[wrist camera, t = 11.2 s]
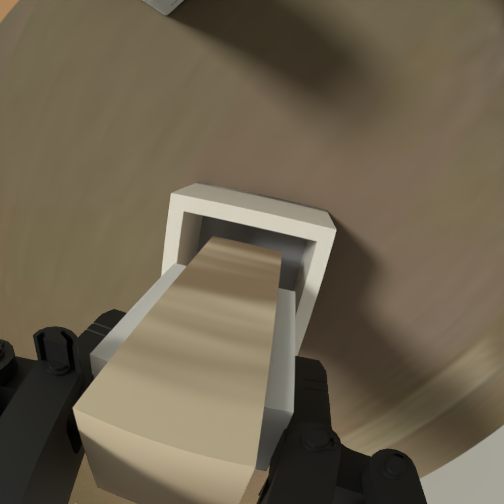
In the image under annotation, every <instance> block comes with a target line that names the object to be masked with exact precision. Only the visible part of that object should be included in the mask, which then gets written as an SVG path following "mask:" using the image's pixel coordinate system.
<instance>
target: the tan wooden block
mask: <svg viewBox="0 0 504 504" xmlns="http://www.w3.org/2000/svg"><path fill="white" fill-rule="evenodd" d="M281 258H282V251H277V250H273V249H269V248H264V247H260V246H256V245H251V244H247V243H243V242H238V241H234V240H229V239H225V238H221V237H216V236H212V238H211V239H210V240H209V241H208V242H207V243H206V245H205V246H204V247H203V248H202V249H201V250H200V251H199V253H198V254H197V255H196V256H195V257H194V258H193V260H192V261H191V262H190V263H189V264H188V265H187V267H186V268H185V269H184V270H183V271H182V272H181V274H180V275H179V276H178V277H177V278H176V280H175V281H174V282H173V283H172V284H171V285H170V287H169V288H168V289H167V290H166V291H165V293H164V294H163V295H162V296H161V297H160V299H159V300H158V301H157V302H156V303H155V305H154V306H153V307H152V308H151V309H150V311H149V312H148V313H147V314H146V315H145V317H144V318H143V319H142V320H141V322H140V323H139V324H138V325H137V326H136V328H135V329H134V330H133V331H132V333H131V334H130V335H129V336H128V338H127V339H126V340H125V341H124V343H123V344H122V345H121V346H120V348H119V349H118V350H117V351H116V353H115V354H114V355H113V356H112V358H111V359H110V360H109V361H108V363H107V364H106V365H105V366H104V368H103V369H102V370H101V372H100V373H99V374H98V375H97V377H96V378H95V379H94V380H93V382H92V383H91V384H90V386H89V387H88V388H87V390H86V391H85V392H84V393H83V395H82V396H81V397H80V399H79V400H78V401H77V403H76V404H75V405H74V406H73V411H74V415H75V419H76V423H77V426H78V430H79V433H80V437H81V440H82V443H83V447H84V450H85V453H86V456H87V459H88V462H89V465H90V468H91V471H92V474H93V476H94V479H95V482H96V484H97V487H99V488H101V489H103V490H105V491H108V492H110V493H112V494H115V495H117V496H120V497H122V498H125V499H127V500H130V501H133V502H135V503H138V504H239V502H240V500H241V498H242V496H243V494H244V491H245V489H246V487H247V485H248V483H249V480H250V478H251V476H252V474H253V471H254V469H255V466H256V460H257V453H258V446H259V439H260V432H261V425H262V418H263V410H264V403H265V395H266V388H267V380H268V372H269V364H270V356H271V348H272V340H273V331H274V322H275V314H276V305H277V296H278V287H279V277H280V268H281Z"/></svg>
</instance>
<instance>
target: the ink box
mask: <svg viewBox="0 0 504 504" xmlns="http://www.w3.org/2000/svg"><path fill="white" fill-rule="evenodd" d="M142 1H144V2H145V3H147V4H148V5H150V6H151V7H153V8H154V9H156V10H157V11H159V12H161V13H162V14H164V15H168V14H169V13H171V12H172V11H173V10H174V9H175V8H176V7H177V6H178V5H179V4H180V3H181V2H183V1H184V0H142Z"/></svg>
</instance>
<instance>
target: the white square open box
mask: <svg viewBox="0 0 504 504" xmlns="http://www.w3.org/2000/svg"><path fill="white" fill-rule="evenodd" d="M335 234H336V228H335V226H334V224H333V222H332V220H331V218H330V216H329V214H328V212H327V210H324V209H320V208H316V207H312V206H307V205H303V204H299V203H295V202H291V201H286V200H282V199H278V198H273V197H269V196H264V195H260V194H255V193H251V192H246V191H241V190H236V189H232V188H227V187H222V186H217V185H212V184H207V183H202V182H198V183H195V184H192V185H190V186H187V187H185V188H182V189H180V190H177V191H175V192H173V193H171V199H170V206H169V213H168V221H167V229H166V237H165V246H164V255H163V265H162V275H161V277H162V276H163V275H164V274H165V272H166V271H167V270H168V269H169V268H170V267H171V266H172V265H173V264H174V263H176V264H180V265H184V266H187V265H188V264H189V263H190V262H191V261H192V260H193V258H194V257H195V256H196V255H197V254H198V253H199V251H200V250H201V249H202V248H203V247H204V246H205V245H206V243H207V242H208V241H209V240H210V239H211V238H212V236H216V237H221V238H225V239H229V240H234V241H238V242H243V243H247V244H251V245H256V246H260V247H264V248H269V249H273V250H277V251H282V258H281V268H280V277H279V287H278V288H281V289H285V290H290V291H294V292H295V356H297V355H298V352H299V350H300V347H301V344H302V341H303V338H304V335H305V332H306V329H307V326H308V323H309V320H310V317H311V314H312V311H313V308H314V304H315V301H316V298H317V295H318V292H319V289H320V285H321V282H322V279H323V275H324V272H325V269H326V265H327V262H328V259H329V255H330V252H331V248H332V245H333V241H334V238H335Z"/></svg>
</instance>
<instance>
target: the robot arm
mask: <svg viewBox="0 0 504 504" xmlns="http://www.w3.org/2000/svg"><path fill="white" fill-rule="evenodd" d="M186 267H187V266H184V265H180V264H176V263H174V264H173V265H172V266H171V267H170V268H169V269H168V270H167V271H166V272H165V274H164V275H163V276H162V277H161V278H160V279H159V280H158V281H157V282H156V283H155V284H154V285H153V286H152V287H151V288H150V289H149V290H148V291H147V292H146V293H145V295H144V296H143V297H142V298H141V299H140V300H139V301H138V302H137V303H136V304H135V305H134V306H133V307H132V308H131V310H130V311H129V312H128V313H125V312H122V311H119V310H116V309H113V310H110V311H108V312H106V313H103V314H102V315H101V316H99V317H98V318H97V319H96V320H95V321H94V324H91V325H90V326H89V327H88V328H87V330H85V331H84V332H83V333H82V334H81V335H80V336H79V337H78V338H77V336H76V335H75V334H74V333H73V332H72V331H71V330H68V329H66V328H63V327H56V326H55V327H46V328H44V329H41V330H39V331H37V332H36V333H35V334H34V335H33V338H34V343H35V348H36V353H37V357H38V361H37V360H31V359H26V358H21V357H17V356H15V353H14V349H13V346H12V345H11V344H10V343H9V342H7V341H5V340H2V339H0V504H68V502H69V499H70V495H71V492H72V489H73V486H74V483H75V480H76V477H77V474H78V471H79V468H80V465H81V462H82V459H83V456H84V453H85V450H84V447H83V443H82V440H81V437H80V433H79V430H78V426H77V423H76V419H75V415H74V411H73V406H74V405H75V404H76V403H77V401H78V400H79V399H80V397H81V396H82V395H83V393H84V392H85V391H86V390H87V388H88V387H89V386H90V384H91V383H92V382H93V380H94V379H95V378H96V377H97V375H98V374H99V373H100V372H101V370H102V369H103V368H104V366H105V365H106V364H107V363H108V361H109V360H110V359H111V358H112V356H113V355H114V354H115V353H116V351H117V350H118V349H119V348H120V346H121V345H122V344H123V343H124V341H125V340H126V339H127V338H128V336H129V335H130V334H131V333H132V331H133V330H134V329H135V328H136V326H137V325H138V324H139V323H140V322H141V320H142V319H143V318H144V317H145V315H146V314H147V313H148V312H149V311H150V309H151V308H152V307H153V306H154V305H155V303H156V302H157V301H158V300H159V299H160V297H161V296H162V295H163V294H164V293H165V291H166V290H167V289H168V288H169V287H170V285H171V284H172V283H173V282H174V281H175V280H176V278H177V277H178V276H179V275H180V274H181V272H182V271H183V270H184V269H185V268H186ZM269 465H270V468H269V476H268V478H267V480H266V482H265V484H264V485H263V487H262V489H261V491H260V493H259V496H260V497H259V499H258V502H257V504H427V502H426V498H425V495H424V492H423V489H422V486H421V482H420V479H419V476H418V473H417V470H416V467H415V465H414V463H413V462H412V460H411V459H410V458H409V457H408V456H407V455H406V454H405V453H402V452H400V451H398V450H394V449H383V450H379V451H378V452H376V453H375V454H373V456H372V457H370V456H367V455H364V454H362V453H359V452H356V451H353V450H351V449H349V448H347V447H345V446H344V445H343V444H341V441H340V439H339V437H338V435H337V434H336V433H335V432H334V431H333V430H332V427H331V415H330V404H329V394H328V384H327V375H326V370H325V369H324V367H323V366H322V364H321V363H320V361H319V360H314V359H309V358H304V357H299V356H295V292H294V291H290V290H285V289H281V288H278V296H277V305H276V314H275V322H274V331H273V340H272V348H271V356H270V364H269V372H268V380H267V388H266V395H265V403H264V410H263V418H262V425H261V432H260V439H259V446H258V453H257V460H256V466H255V469H257V470H263V471H267V469H268V467H269Z"/></svg>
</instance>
